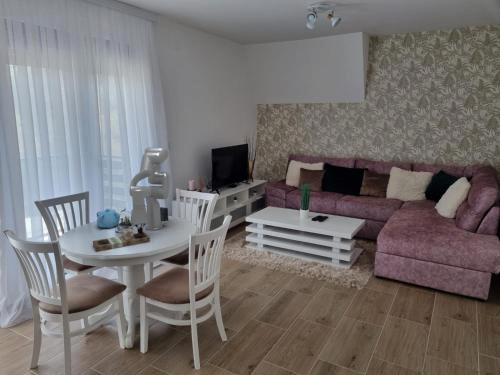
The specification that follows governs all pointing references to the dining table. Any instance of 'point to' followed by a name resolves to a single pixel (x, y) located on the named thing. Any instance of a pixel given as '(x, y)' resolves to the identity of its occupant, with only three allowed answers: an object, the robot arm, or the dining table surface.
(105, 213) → the decorative pot
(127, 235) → the birch block
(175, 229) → the dining table surface
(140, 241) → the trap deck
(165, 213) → the small box
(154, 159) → the robot arm
